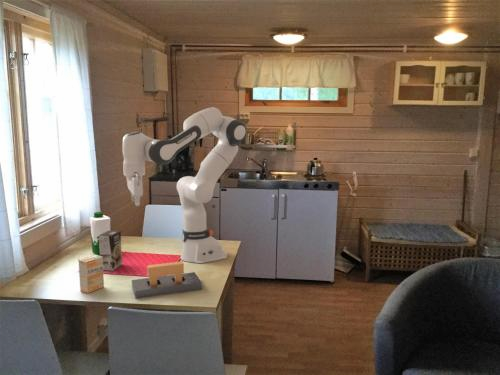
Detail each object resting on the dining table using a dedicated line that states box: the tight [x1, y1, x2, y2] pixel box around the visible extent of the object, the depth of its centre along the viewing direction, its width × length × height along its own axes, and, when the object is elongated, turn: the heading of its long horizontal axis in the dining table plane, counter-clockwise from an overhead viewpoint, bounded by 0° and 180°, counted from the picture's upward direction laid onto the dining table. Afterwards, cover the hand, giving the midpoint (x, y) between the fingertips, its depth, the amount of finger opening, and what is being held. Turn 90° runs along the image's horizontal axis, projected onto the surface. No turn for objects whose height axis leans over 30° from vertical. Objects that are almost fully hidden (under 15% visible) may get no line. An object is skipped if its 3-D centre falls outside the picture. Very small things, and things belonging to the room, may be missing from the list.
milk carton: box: [89, 211, 111, 256], centre depth 228 cm, size 9×9×20 cm
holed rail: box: [131, 271, 203, 300], centre depth 185 cm, size 26×12×3 cm, turn 110°
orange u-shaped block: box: [146, 260, 185, 286], centre depth 185 cm, size 14×3×10 cm, turn 111°
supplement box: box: [78, 254, 105, 295], centre depth 183 cm, size 8×5×13 cm, turn 148°
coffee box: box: [99, 230, 123, 272], centre depth 208 cm, size 9×6×16 cm
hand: (135, 203), depth 195 cm, fingers open, 8 cm apart
